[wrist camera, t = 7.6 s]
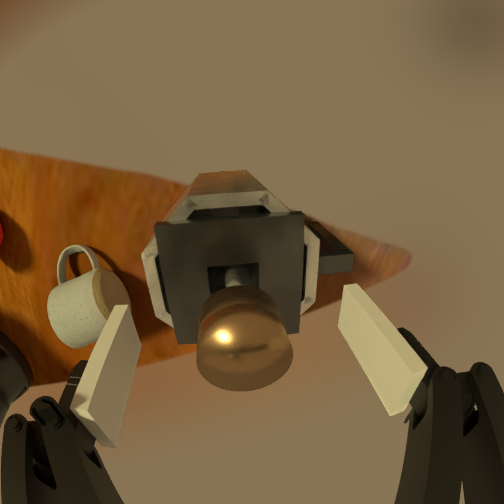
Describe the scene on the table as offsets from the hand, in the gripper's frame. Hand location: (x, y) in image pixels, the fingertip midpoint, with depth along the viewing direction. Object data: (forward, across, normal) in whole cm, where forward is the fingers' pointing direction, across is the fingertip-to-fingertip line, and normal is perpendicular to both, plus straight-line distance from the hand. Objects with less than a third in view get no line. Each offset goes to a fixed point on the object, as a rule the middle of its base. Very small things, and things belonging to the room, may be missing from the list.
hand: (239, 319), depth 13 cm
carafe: (+16, +2, 0) cm, 17 cm away
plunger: (+14, 0, 0) cm, 14 cm away
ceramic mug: (+17, -17, -6) cm, 25 cm away
